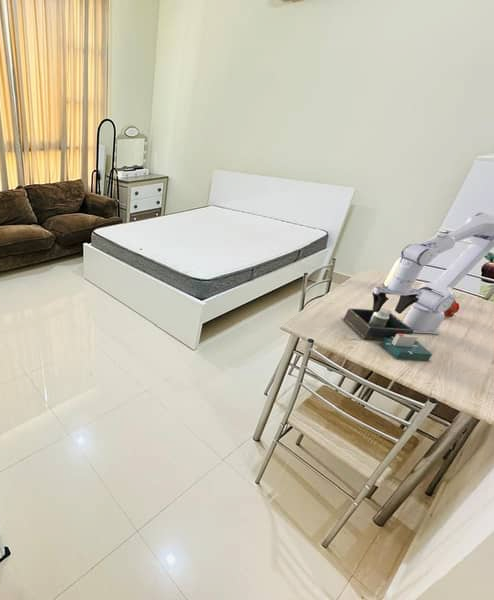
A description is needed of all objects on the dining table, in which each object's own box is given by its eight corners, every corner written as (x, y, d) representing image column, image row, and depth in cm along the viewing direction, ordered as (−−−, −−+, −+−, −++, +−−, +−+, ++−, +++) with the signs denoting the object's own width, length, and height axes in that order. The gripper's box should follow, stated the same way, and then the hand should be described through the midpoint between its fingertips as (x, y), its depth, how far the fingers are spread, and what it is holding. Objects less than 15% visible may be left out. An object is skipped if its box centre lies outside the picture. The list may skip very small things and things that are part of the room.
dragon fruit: (432, 322, 130) (434, 315, 138) (463, 318, 124) (463, 311, 131) (424, 302, 131) (427, 297, 138) (455, 297, 124) (456, 292, 132)
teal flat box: (408, 344, 115) (413, 337, 113) (429, 362, 106) (435, 355, 105) (373, 342, 116) (377, 335, 114) (391, 359, 108) (396, 352, 106)
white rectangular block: (408, 344, 110) (414, 334, 108) (411, 346, 109) (418, 336, 107) (391, 342, 111) (397, 333, 109) (394, 345, 109) (400, 335, 107)
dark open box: (382, 321, 128) (388, 310, 125) (406, 342, 116) (414, 330, 113) (343, 319, 129) (348, 308, 126) (363, 339, 117) (370, 327, 115)
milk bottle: (389, 290, 151) (410, 250, 141) (380, 283, 158) (399, 244, 148) (408, 291, 150) (430, 251, 140) (397, 284, 157) (418, 245, 146)
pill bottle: (384, 333, 120) (395, 314, 115) (370, 331, 120) (380, 312, 116) (377, 325, 124) (387, 307, 119) (364, 324, 124) (373, 306, 120)
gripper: (418, 274, 113) (400, 307, 120) (374, 272, 114) (358, 304, 121) (434, 283, 107) (414, 317, 114) (387, 281, 108) (370, 314, 115)
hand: (386, 311), depth 117 cm, fingers open, 7 cm apart
